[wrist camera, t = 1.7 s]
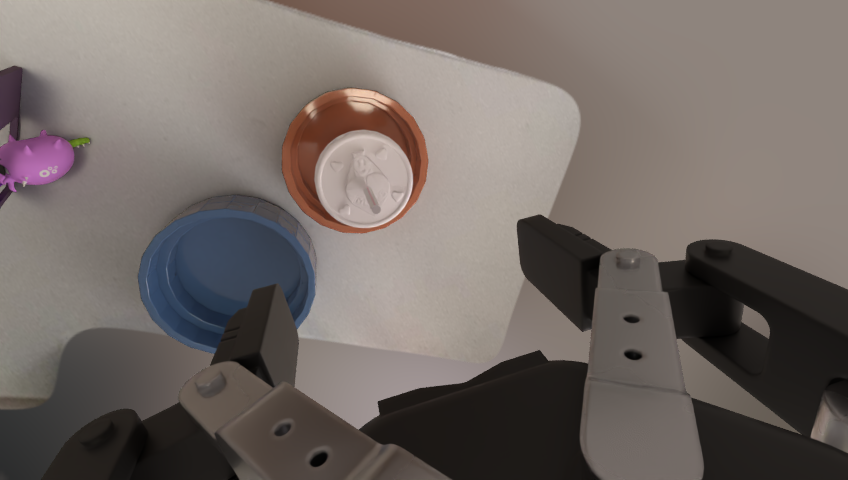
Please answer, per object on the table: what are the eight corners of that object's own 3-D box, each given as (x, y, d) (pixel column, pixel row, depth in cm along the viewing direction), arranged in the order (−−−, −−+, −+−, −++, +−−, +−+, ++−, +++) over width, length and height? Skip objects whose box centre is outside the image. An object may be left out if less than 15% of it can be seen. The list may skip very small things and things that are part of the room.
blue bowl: (196, 342, 37) (181, 373, 33) (132, 214, 32) (104, 233, 28) (332, 304, 39) (333, 329, 35) (291, 177, 34) (287, 190, 30)
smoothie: (329, 201, 35) (333, 267, 23) (305, 129, 33) (295, 157, 20) (398, 183, 36) (440, 236, 23) (380, 110, 34) (417, 126, 21)
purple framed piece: (-35, 71, 22) (-40, 222, 24) (90, 102, 25) (74, 233, 27) (-1, 61, 27) (-8, 187, 29) (99, 88, 30) (85, 200, 32)
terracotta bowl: (308, 231, 36) (307, 248, 32) (267, 103, 32) (260, 105, 28) (426, 202, 38) (438, 214, 34) (403, 75, 33) (413, 74, 30)
